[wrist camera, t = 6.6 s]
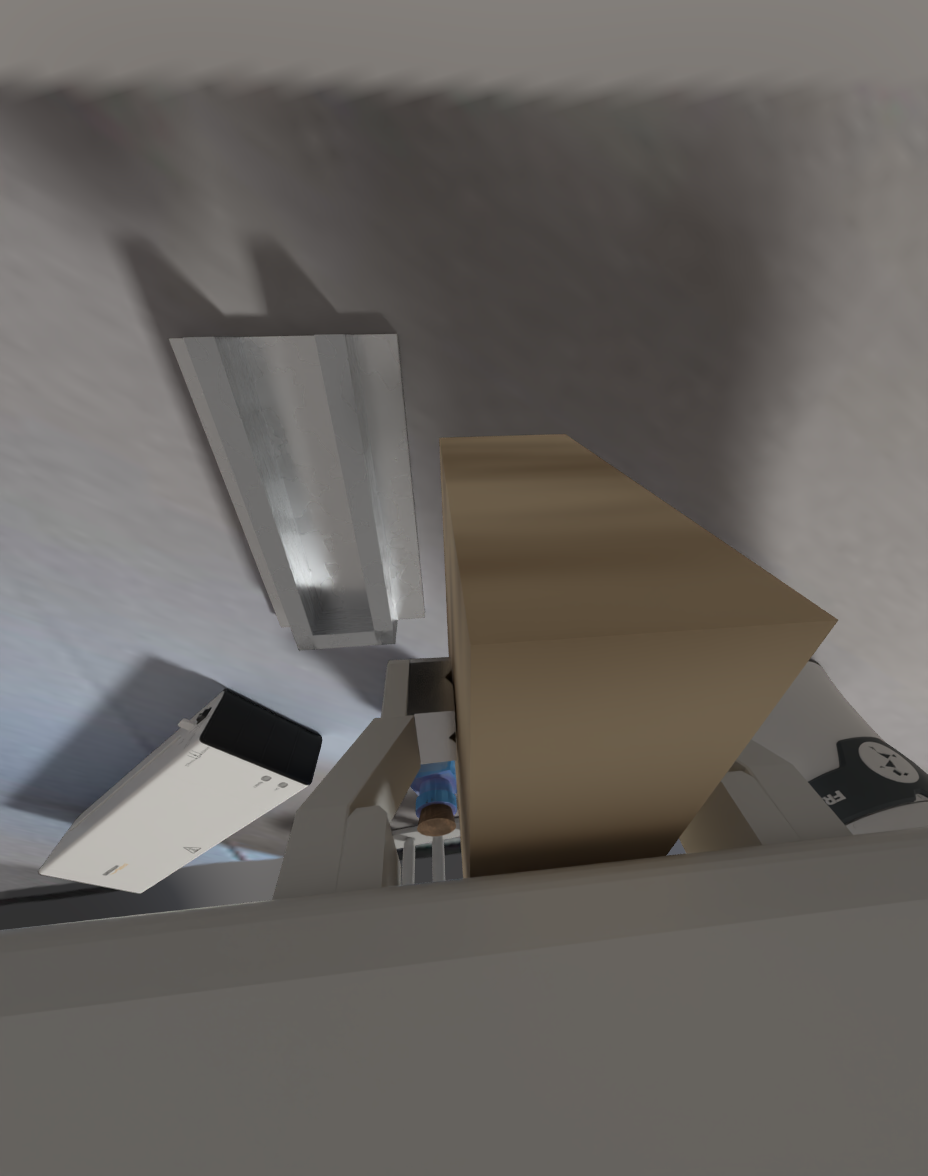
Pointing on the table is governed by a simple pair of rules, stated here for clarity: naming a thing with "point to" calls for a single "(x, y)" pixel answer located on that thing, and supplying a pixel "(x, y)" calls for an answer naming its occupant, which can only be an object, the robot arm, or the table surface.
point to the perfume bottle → (436, 798)
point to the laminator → (187, 796)
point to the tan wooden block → (597, 655)
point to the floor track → (316, 475)
